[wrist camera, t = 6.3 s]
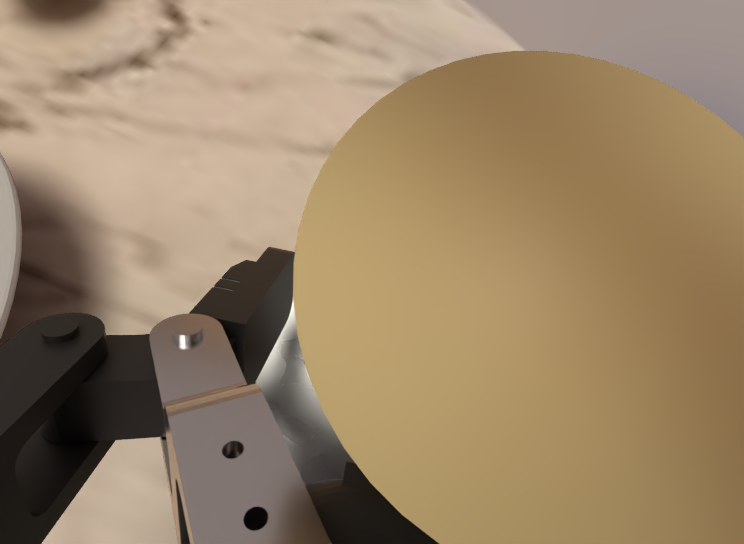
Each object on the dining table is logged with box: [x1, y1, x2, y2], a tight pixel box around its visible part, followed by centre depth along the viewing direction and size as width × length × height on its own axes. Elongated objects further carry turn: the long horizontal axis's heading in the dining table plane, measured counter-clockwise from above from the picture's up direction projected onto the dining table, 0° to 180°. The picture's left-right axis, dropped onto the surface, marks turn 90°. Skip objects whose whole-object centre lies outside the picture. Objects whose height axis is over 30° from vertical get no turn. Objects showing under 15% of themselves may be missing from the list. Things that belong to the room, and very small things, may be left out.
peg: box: [293, 51, 744, 544], centre depth 11 cm, size 5×5×15 cm
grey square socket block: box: [256, 301, 355, 485], centre depth 16 cm, size 10×10×4 cm
